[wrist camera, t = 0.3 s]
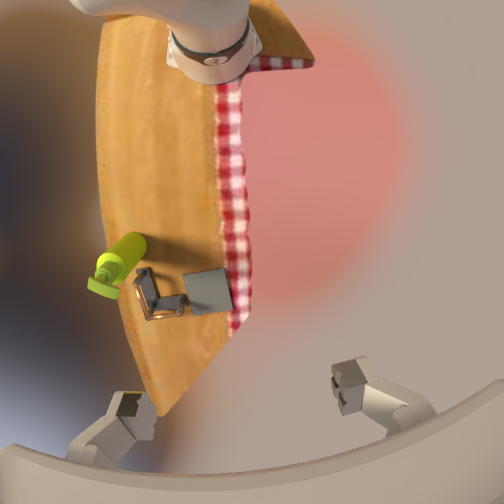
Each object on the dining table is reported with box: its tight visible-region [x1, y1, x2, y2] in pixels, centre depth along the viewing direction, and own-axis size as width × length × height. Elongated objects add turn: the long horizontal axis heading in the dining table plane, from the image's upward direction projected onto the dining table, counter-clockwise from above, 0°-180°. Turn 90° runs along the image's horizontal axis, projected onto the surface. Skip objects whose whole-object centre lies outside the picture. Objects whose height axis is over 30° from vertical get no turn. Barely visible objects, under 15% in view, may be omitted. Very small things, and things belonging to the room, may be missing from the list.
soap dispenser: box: [88, 232, 147, 300], centre depth 47 cm, size 6×7×20 cm
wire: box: [133, 267, 187, 321], centre depth 57 cm, size 10×9×6 cm
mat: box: [182, 268, 233, 315], centre depth 60 cm, size 10×9×1 cm
